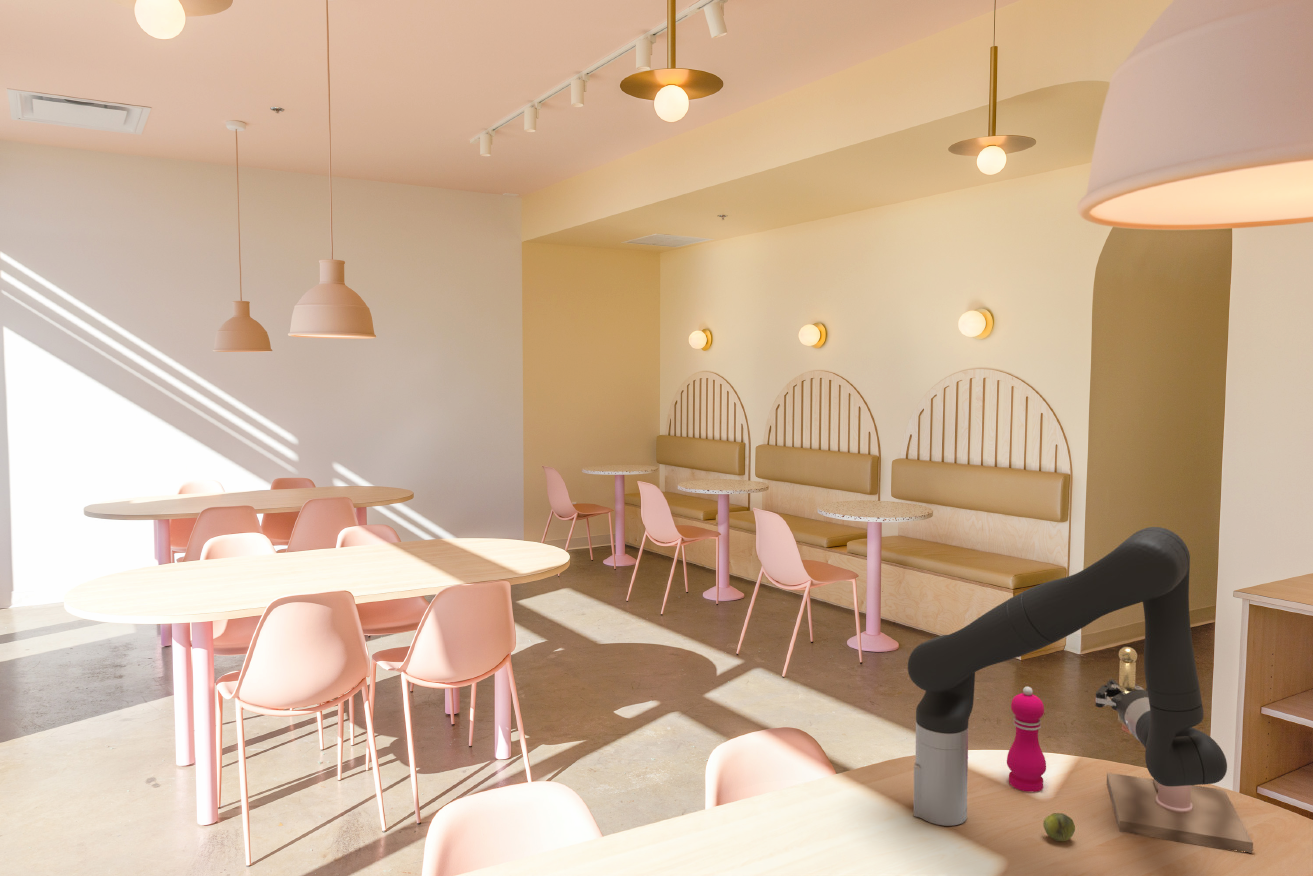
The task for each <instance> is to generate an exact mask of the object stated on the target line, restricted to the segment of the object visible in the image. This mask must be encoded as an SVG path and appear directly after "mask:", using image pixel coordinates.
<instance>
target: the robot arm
mask: <svg viewBox="0 0 1313 876" xmlns="http://www.w3.org/2000/svg"><path fill="white" fill-rule="evenodd" d="M1190 567H1191V555H1190V551H1189V548H1188V546H1187V543H1185V542H1184V540H1183V539H1182V538H1181V536H1179V535H1178V534H1177V533H1175V532H1174V531H1172V530H1169V529H1168V528H1165V527H1159V526H1149V527H1145V528H1142V529H1139V530H1138V531H1136V532H1134V533H1133V534H1131V535H1129V537H1128V538H1127V539H1125V540H1124V541H1122V543H1120V544H1119V545H1118V546H1116V548H1114V549H1113V550H1112V551H1110V553H1108V554H1106V555H1105V556H1103V557H1102V558H1100V559H1098V560H1097V561H1095V562H1094V563H1092V564H1091V565H1089V566H1087V567H1086V568H1084V569H1082V570H1081V571H1078V572H1076V573H1074V574H1071V575H1068V576H1065V577H1062V578H1057V579H1053V580H1051V581H1046V582H1044V583H1040V584H1037V585H1035V586H1033V587H1030V588H1027V589H1026V590H1023V591H1022V592H1019V593H1018V594H1016V595H1014V596H1012V597H1010V598H1009V599H1007V600H1005V601H1004V602H1002V603H1000V604H998V605H996V606H994V607H993V608H992V609H990V610H988V611H987V612H985V613H984V614H982V615H981V616H979V617H977V618H976V619H975V620H973V621H972V622H971V623H969V624H967V625H966V626H964V627H963V628H960V629H959V630H956V631H954V632H952V633H950V634H941V635H939V636H936V637H933V638H931V639H929V640H926V641H924V642H921V643H920V644H919V645H917V646H916V647H915V648H914V649H913V650H912V652H910V655H909V657H908V661H907V672H908V676H909V678H910V680H911V681H912V683H914V684H915V686H916V687H918V688H920V690H922V691H925V693H924V694H923V696H922V698H921V700H920V701H919V702H918V704H917V706H916V709H915V759H914V760H915V762H914V766H913V813H912V814H913V816H914V817H915V818H916V817H917V818H920V819H922V820H924V821H926V822H929V823H931V824H934V825H938V826H947V827H948V826H952V827H953V826H959V825H961V824H963V823H965V822H966V820H967V818H968V776H969V775H968V773H969V772H968V769H969V765H968V764H969V762H968V761H969V721H970V720H969V719H970V716H971V714H972V711H973V707H974V700H975V681H976V672H978V671H980V670H982V669H985V668H987V667H991V666H993V665H996V664H1000V663H1004V662H1007V661H1011V660H1013V659H1016V658H1019V657H1022V656H1025V655H1027V654H1030V653H1033V652H1035V651H1039V650H1041V649H1043V648H1045V647H1048V646H1050V645H1052V644H1055V643H1057V642H1058V641H1061V640H1063V639H1064V638H1066V637H1068V636H1070V635H1072V634H1074V633H1076V632H1078V631H1080V630H1082V629H1083V628H1085V627H1087V626H1088V625H1090V624H1092V623H1093V622H1094V621H1096V620H1098V619H1100V618H1102V617H1104V616H1106V615H1108V614H1111V613H1113V612H1117V611H1119V610H1122V609H1124V608H1127V607H1131V606H1133V605H1136V604H1140V603H1142V606H1143V607H1142V608H1143V614H1144V615H1143V616H1144V648H1143V649H1144V651H1143V665H1144V667H1143V668H1144V669H1143V670H1144V679H1145V685H1146V688H1143V687H1142V686H1139V685H1138V684H1137V683H1135V690H1133V691H1127V690H1126V689H1125V688H1124V687H1119V683H1118V682H1117V681H1116V680H1115V679H1114V678H1109V680H1107V681H1106V684H1103V685H1101V686H1100V687H1099V688H1098V690H1097V691H1096V692H1095V707H1097V708H1103V707H1107V706H1110V707H1111V709H1112V710H1114V711H1116V712H1117V713H1118V714H1119V716H1120V718H1121V720H1122V721H1123V722H1124V724H1125V725H1126V726H1127V728H1128V729H1129V730H1130V731H1131V733H1132V734H1131V735H1133V737H1135V739H1136V740H1137V741H1139V742H1140V743H1141V744H1142V746H1143V747H1144V748H1145V754H1144V755H1145V756H1144V757H1145V758H1144V759H1145V765H1146V768H1147V771H1148V773H1149V774H1150V776H1151V777H1152V779H1154V780H1156V781H1157V782H1158V783H1159V784H1161V785H1164V786H1170V787H1172V786H1188V785H1195V786H1202V785H1204V786H1205V785H1211V784H1217V783H1219V782H1220V781H1222V780H1223V779H1224V777H1226V774H1227V771H1228V761H1227V759H1226V755H1225V754H1224V751H1223V750H1222V748H1221V747H1220V745H1219V744H1218V743H1217V742H1216V741H1215V740H1214V739H1213V737H1211V736H1210V735H1208V734H1206V733H1205V732H1203V731H1201V730H1199V729H1196V728H1195V727H1196V726H1198V725H1200V724H1201V723H1202V722H1203V720H1204V718H1205V717H1204V713H1205V712H1204V706H1203V701H1202V694H1201V689H1200V687H1201V686H1200V682H1199V677H1198V670H1197V665H1196V659H1195V652H1194V646H1193V645H1194V644H1193V639H1192V637H1193V636H1192V629H1191V619H1190V605H1189V604H1190Z"/></svg>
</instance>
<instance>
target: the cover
mask: <svg viewBox="0 0 1313 876" xmlns="http://www.w3.org/2000/svg"><path fill="white" fill-rule="evenodd" d="M1156 803H1157V804H1158V805H1159V806H1161V807H1162V808H1164V809H1167V810H1170V811H1174V812H1180V813H1186V812H1190V811H1192V807H1193V805H1192V803H1191V785H1188V786H1172V787H1170V786H1164V785H1161V784H1159V783H1158V795H1157V796H1156Z"/></svg>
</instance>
